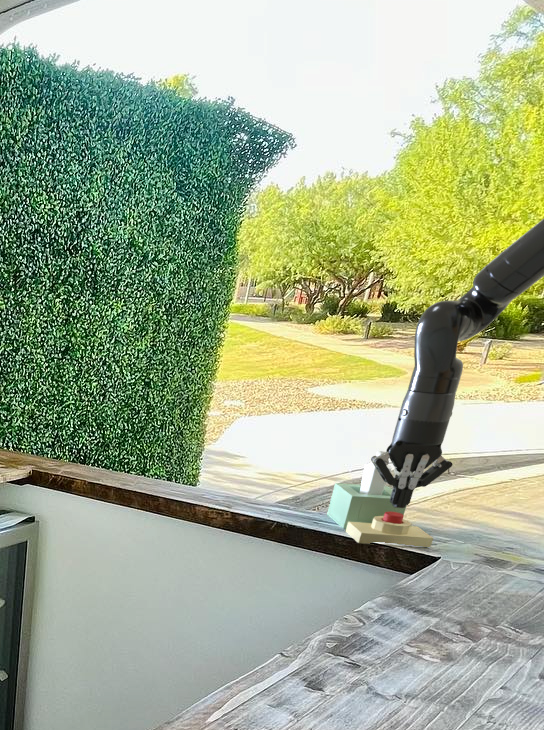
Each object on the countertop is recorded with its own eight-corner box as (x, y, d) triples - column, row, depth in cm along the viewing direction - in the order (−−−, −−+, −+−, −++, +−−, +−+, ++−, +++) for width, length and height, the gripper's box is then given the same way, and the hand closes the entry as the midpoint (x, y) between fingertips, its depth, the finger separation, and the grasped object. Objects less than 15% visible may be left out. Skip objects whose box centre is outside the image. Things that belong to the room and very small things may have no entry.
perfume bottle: (348, 518, 160) (368, 448, 155) (373, 522, 158) (394, 451, 153) (349, 524, 157) (369, 453, 151) (374, 528, 155) (396, 456, 149)
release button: (397, 520, 148) (400, 512, 147) (403, 525, 145) (406, 516, 145) (379, 519, 149) (382, 510, 148) (386, 524, 146) (388, 515, 145)
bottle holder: (378, 518, 161) (388, 486, 158) (398, 533, 152) (408, 499, 149) (326, 514, 163) (335, 482, 160) (343, 529, 154) (352, 496, 152)
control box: (413, 536, 150) (419, 517, 149) (430, 549, 144) (436, 529, 142) (345, 531, 153) (350, 512, 151) (358, 543, 147) (363, 523, 145)
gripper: (456, 413, 141) (429, 503, 148) (375, 411, 144) (351, 499, 151) (477, 421, 134) (447, 515, 141) (391, 418, 138) (366, 510, 144)
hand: (397, 506), depth 146 cm, fingers closed
